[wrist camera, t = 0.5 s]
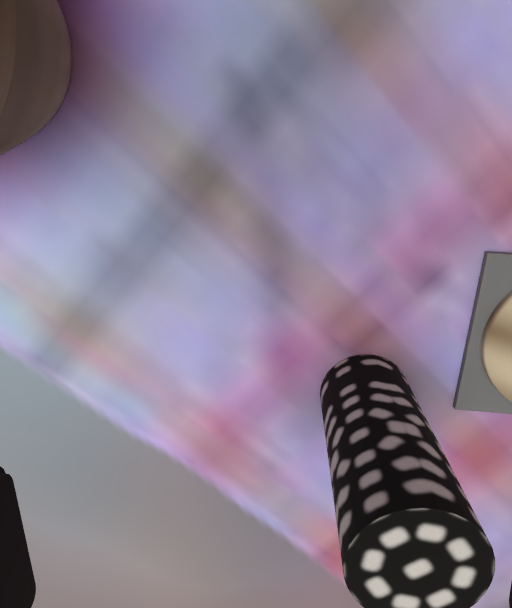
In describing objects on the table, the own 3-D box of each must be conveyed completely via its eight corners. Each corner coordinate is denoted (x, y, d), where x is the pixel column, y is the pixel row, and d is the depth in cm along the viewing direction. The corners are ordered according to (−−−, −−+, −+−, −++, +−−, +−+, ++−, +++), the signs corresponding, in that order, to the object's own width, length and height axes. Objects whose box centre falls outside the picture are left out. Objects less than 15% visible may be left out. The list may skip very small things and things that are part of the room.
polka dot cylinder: (378, 338, 44) (448, 483, 25) (424, 405, 46) (521, 587, 27) (303, 383, 46) (314, 549, 27) (349, 445, 48) (391, 643, 29)
